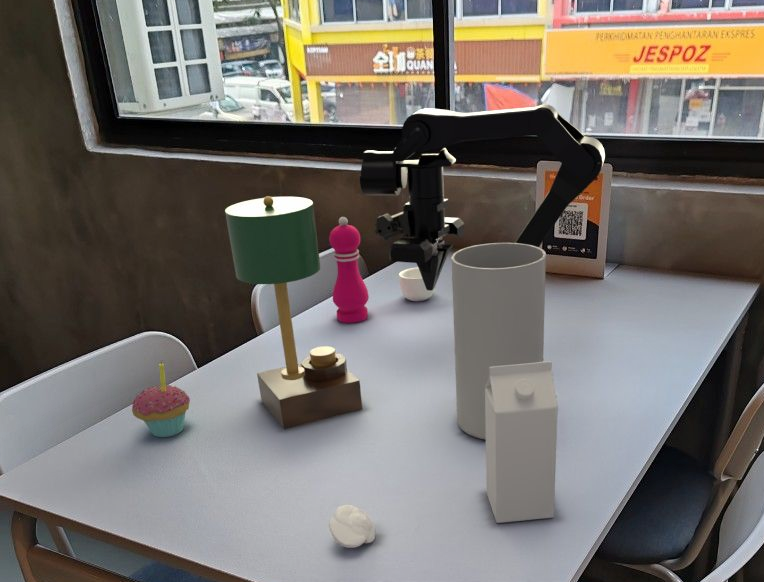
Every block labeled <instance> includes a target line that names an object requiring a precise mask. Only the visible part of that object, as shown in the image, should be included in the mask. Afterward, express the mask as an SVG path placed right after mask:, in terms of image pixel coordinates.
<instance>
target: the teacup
mask: <svg viewBox="0 0 764 582" xmlns="http://www.w3.org/2000/svg"><path fill="white" fill-rule="evenodd" d="M398 282H399V289H400V291H401V294H402V296H403V297H404V298H406V299H407V300H408V301H411V302H423V301H426V300H428V299H430V298H431V297H432V296H433V295H434V292H435V290H436V287H435V288H434V289H433V290H432V291H429V290H427V289H426V287H425V284H424V281H423V279H422V276H421V273H420V270H419V268H418V267H410V268H406V269H403V270H402V271H400V272H399V274H398Z"/></svg>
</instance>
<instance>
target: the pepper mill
mask: <svg viewBox="0 0 764 582" xmlns="http://www.w3.org/2000/svg"><path fill="white" fill-rule="evenodd" d="M348 223H349V220H348V218H347V217H345V216H341V217H339V219H338V225H337V226H336V227H334V228H333V229H332V230H331V231H330V234H329V237H328V239H329V245H330V246H331V248H332V249H333V252H332V253H333V255H334V256H333V260H334V261H336V266H337V267H336V268H337V275H336V276H337V277H336V280H335V283H334V286H333V290H332V302H333V304H334V305H335V306H336V308H337V310H336V318H337V320H338V322H341V323H343V324H355V323H361V322H363V321H365V320H367V319H368V317H369V312H368V308H367V307H368V306H366V304H367V303H368V301H369V298H370V297H369V291H368V288H367V285H366V283H365V281H364V279H363V278H362V276H361V274H360V273H361V272H360V270H359V265H358V263H359V259H360V250H359V249H358V248H359V246H360V244H361V235H360V231H359V230H358V229H357V228H356V226H354V225H350V224H348Z"/></svg>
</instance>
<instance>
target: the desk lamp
mask: <svg viewBox="0 0 764 582" xmlns="http://www.w3.org/2000/svg"><path fill="white" fill-rule="evenodd" d="M224 215H225V220H226V225H227V231H228V237H229V243H230V250H231V255H232V260H233V267H234V273H235V277H236V279H237V280H238V281H240V282H243V283H247V284H252V285H273V287H274V292H275V301H276V307H277V314H278V315H277V316H278V322H279V327H280V334H281V340H282V341H281V343H282V348H283V355H284V361H285V367H286V368H285V369H283V370H282V371H281V376H282V378H283V379H285V380H297V379H300V378H303V377H304V376H305V369H304V368H303V367H300V366H298V364H299V363H298V361H299V360H298V356H297V355H298V354H297V347H296V340H295V334H294V327H293V319H292V312H291V311H292V310H291V304H290V298H289V291H288V284H287V283H291V282H292V283H293V282H297V281H300V280H304V279H307V278H309V277H312V276H314V275H316V274H317V273H318V272H319V271H320V270H321V261H320V252H319V242H318V234H317V227H316V217H315V208H314V202H313V200H311V199H309V198H306V197H300V196H270V195H269V196H268V195H267V196H265V197H262V198H261V197H260V198H255V199H254V198H253V199H250V200H244V201H241V202H237V203H235V204H231V205H230V206H227V207H226V208H225V210H224Z"/></svg>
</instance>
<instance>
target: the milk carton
mask: <svg viewBox="0 0 764 582" xmlns="http://www.w3.org/2000/svg"><path fill="white" fill-rule="evenodd" d="M552 368H553V362H552V360H549V361H543V362H536V363H526V364H515V365H504V366H493V367H489V372H490V376H489V378H488V381H487V383H486V386H485V422H486V440H485V479H486V483H485V484H486V486H485V487H486V491H485V492H486V495H487V496H486V497H487V498H488V501H489V504H490V507H491V511H492V513H493V516H494V520H495V523H498V524H502V523H511V522H520V521H531V520H532V521H533V520H542V519H550V518H554V516H555V496H556V495H555V494H556V469H557V441H558V414H559V413H558V411H559V405H558V399H557V398H558V397H557V393H556V388H555V382H554V376H553V371H552V370H553V369H552Z"/></svg>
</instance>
